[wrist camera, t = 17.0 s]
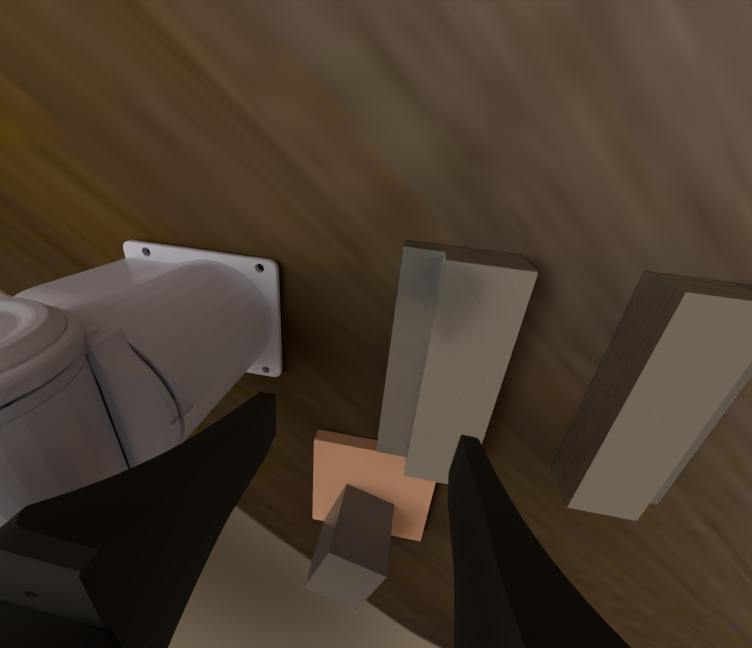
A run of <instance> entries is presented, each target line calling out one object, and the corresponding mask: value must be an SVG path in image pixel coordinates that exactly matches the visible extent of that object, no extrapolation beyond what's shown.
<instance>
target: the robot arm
mask: <svg viewBox="0 0 752 648" xmlns="http://www.w3.org/2000/svg"><path fill="white" fill-rule="evenodd" d="M147 248H148V249H149V251H150V254H149V253H148V251H147ZM123 249H124V253H125V257H126V258H125V259H122V260H119V261H116V262H113V263H109V264H106V265H103V266H100V267H97V268H93V269H90V270H87V271H84V272H81V273H77V274H74V275H71V276H68V277H64V278H61V279H58V280H55V281H52V282H48V283H45V284H42V285H39V286H36V287H32V288H30V289H27V290H25V291H23V292H21V293H19V294H17V295H15V296H14V297H0V648H168V646H169V644H170V641H171V639H172V637H173V634H174V632H175V629H176V627H177V625H178V623H179V620H180V618H181V616H182V614H183V611H184V609H185V607H186V605H187V602H188V600H189V598H190V596H191V594H192V591H193V589H194V587H195V585H196V583H197V580H198V578H199V576H200V574H201V572H202V570H203V568H204V566H205V564H206V561H207V559H208V557H209V555H210V553H211V551H212V549H213V547H214V545H215V543H216V541H217V539H218V537H219V535H220V533H221V531H222V529H223V527H224V525H225V523H226V521H227V519H228V518H229V516H230V514H231V512H232V511H233V509H234V507H235V506H236V504H237V503H238V501H239V499H240V498H241V496H242V494H243V493H244V491H245V490H246V488H247V486H248V485H249V483H250V481H251V480H252V478H253V477H254V475H255V473H256V472H257V470H258V468H259V467H260V465H261V463H262V462H263V460H264V458H265V456H266V454H267V452H268V450H269V448H270V446H271V443H272V441H273V439H274V437H275V434H276V395H275V394H270V393H265V392H259V393H258V394H256V395H255V396H253V397H252V398H250V399H249V400H248V401H246V402H245V403H243V404H242V405H240V406H239V407H238V408H236V409H235V410H233V411H232V412H230V413H229V414H227V415H226V416H224V417H223V418H221V419H220V420H218V421H217V422H215V423H214V424H212V425H211V426H209V427H208V428H206V429H204V430H203V431H201V432H199V433H198V434H196V435H195V436H193V437H191V438H190V439H188V440H186V439H187V438H188V436H189V435H190V434H191V433H192V432H193V431H194V430H195V429H196V427H197V426H198V425H199V424H200V423H201V422H202V421H203V420H204V418H205V417H206V416H207V415H208V414H209V413H210V412H211V410H212V409H213V408H214V407H215V406H216V405H217V404H218V403H219V401H220V400H221V399H222V398H223V397H224V396H225V395H226V394H227V392H228V391H229V390H230V389H231V388H232V387H233V386H234V385H235V383H236V382H237V381H238V380H239V379H240V378H241V377H242V375H243V374H244V373H245V372H248V373H254V374H260V375H266V376H271V377H277V376H279V375H280V374H281V372H282V343H281V315H280V287H279V267H278V265H277V263H276V262H275V261H274V260H271V259H265V258H258V257H251V256H244V255H236V254H229V253H222V252H215V251H208V250H201V249H194V248H187V247H180V246H172V245H165V244H158V243H151V242H144V241H137V240H129V241H126V242H125V243H124V244H123ZM258 264H261V265H262V266H263V267H264V271H262V270H260V269H259V266H258ZM265 367H268V368H269V370H268V369H266V368H265ZM185 440H186V441H185ZM184 441H185V442H184ZM448 509H449V520H450V532H451V543H452V554H453V565H454V601H455V619H454V648H631V647H630V646H629V645H628V644H627V643H626V642H625V641H624V640H623V639H622V638H621V637H620V636H619V635H618V634H617V633H616V632H615V631H614V630H613V629H612V628H611V627H610V626H609V625H608V624H607V623H606V622H605V621H604V620H603V618H602V617H601V616H600V615H599V614H598V613H597V612H596V611H595V610H594V609H593V608H592V606H591V605H590V604H589V603H588V602H587V601H586V600H585V599H584V598H583V596H582V595H581V594H580V593H579V592H578V591H577V589H576V588H575V587H574V586H573V585H572V583H571V582H570V581H569V580H568V579H567V577H566V576H565V575H564V574H563V573H562V571H561V570H560V569H559V568H558V567H557V565H556V564H555V563H554V562H553V560H552V559H551V558H550V556H549V555H548V554H547V552H546V551H545V550H544V548H543V547H542V546H541V544H540V543H539V542H538V540H537V539H536V537H535V536H534V535H533V533H532V532H531V530H530V529H529V527H528V526H527V524H526V523H525V521H524V520H523V518H522V517H521V515H520V513H519V512H518V510H517V509H516V507H515V505H514V504H513V502H512V500H511V499H510V497H509V495H508V494H507V492H506V490H505V488H504V487H503V485H502V483H501V481H500V480H499V478H498V476H497V474H496V472H495V470H494V468H493V466H492V465H491V463H490V461H489V459H488V457H487V455H486V453H485V451H484V448H483V446H482V444H481V442H480V440H479V439H478V438H476V437H472V436H467V435H462V434H461V436H460V439H459V442H458V445H457V448H456V451H455V454H454V457H453V460H452V463H451V466H450V469H449V472H448Z"/></svg>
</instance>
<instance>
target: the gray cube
mask: <svg viewBox="0 0 752 648" xmlns="http://www.w3.org/2000/svg"><path fill="white" fill-rule="evenodd" d="M393 512H394V504H392V503H390V502H388V501H385V500H383V499H381V498H378V497H376V496H374V495H372V494H369V493H367V492H365V491H362V490H360V489H358V488H356V487H353V486H351V485H349V484H346V486H345V487H344V489H343V490H342V492H341V494H340V495H339V497H338V498H337V500H336V501H335V503H334V505H333V506H332V508H331V509H330V511H329V513H328V514H327V516H326V517H325V519H324V523H323V526H322V529H321V533H320V536H319V539H318V543H317V546H316V550H315V553H314V556H313V560H312V563H311V567H310V570H309V573H308V576H307V580H306V583H305V586H304V588H306V589H309V590H311V591H313V592H316V593H318V594H320V595H323V596H325V597H328V598H330V599H333V600H335V601H337V602H340V603H342V604H345V605H347V606H350V607H352V608H354V609H357V608H358V607H359V606H360V605H361V604H362V603H363V602H364V601H365V600H366V599H367V598H368V597H369V596H370V594H371V593H372V592H373V591H374V590H375V589H376V588H377V587H378V586H379V585H380V584H381V583H382V582H383V580H384V579H385V578H386V577H387V568H388V559H389V549H390V540H391V531H392V521H393Z"/></svg>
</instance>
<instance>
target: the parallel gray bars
mask: <svg viewBox="0 0 752 648" xmlns="http://www.w3.org/2000/svg"><path fill="white" fill-rule="evenodd" d="M537 275H538V272H537V271H536V270H535V269H534V268H533V266H532V265H531V264H530V263H529V262H528V261H527V260H526V259H525V258H524V257H523V256H522V255H515V254H508V253H500V252H492V251H485V250H477V249H469V248H462V247H454V246H446V245H439V244H431V243H423V242H416V241H408V240H406V241H405V244H404V247H403V255H402V262H401V270H400V277H399V285H398V292H397V299H396V307H395V314H394V322H393V329H392V336H391V344H390V351H389V359H388V366H387V374H386V381H385V388H384V396H383V403H382V411H381V418H380V426H379V433H378V440H377V448H376V452H381V453H387V454H392V455H397V456H402V457H405V466H404V476H408V477H413V478H418V479H423V480H428V481H434V482H439V483H444V484H448V472H449V469H450V466H451V463H452V460H453V457H454V454H455V451H456V448H457V445H458V442H459V439H460V436H461V434H462V435H467V436H472V437H476V438H478V439H479V440H480V442H481V444H482V442H483V439H484V436H485V433H486V430H487V427H488V424H489V421H490V418H491V415H492V412H493V409H494V406H495V403H496V399H497V396H498V393H499V390H500V387H501V384H502V381H503V378H504V375H505V372H506V369H507V366H508V363H509V360H510V357H511V354H512V351H513V348H514V345H515V342H516V339H517V336H518V333H519V330H520V327H521V323H522V320H523V317H524V314H525V311H526V308H527V305H528V302H529V299H530V296H531V293H532V290H533V287H534V284H535V281H536V278H537ZM751 376H752V285H746V284H738V283H730V282H723V281H715V280H707V279H700V278H692V277H684V276H677V275H669V274H661V273H654V272H646V271H645V272H644V274H643V276H642V278H641V280H640V282H639V284H638V287H637V289H636V291H635V293H634V295H633V297H632V299H631V301H630V303H629V305H628V308H627V310H626V312H625V314H624V316H623V318H622V320H621V322H620V324H619V326H618V328H617V331H616V333H615V335H614V337H613V339H612V341H611V343H610V345H609V347H608V349H607V351H606V354H605V356H604V358H603V360H602V362H601V364H600V366H599V368H598V370H597V372H596V374H595V377H594V379H593V381H592V383H591V385H590V387H589V389H588V391H587V393H586V395H585V398H584V400H583V402H582V404H581V406H580V408H579V410H578V412H577V414H576V416H575V418H574V421H573V423H572V425H571V427H570V429H569V431H568V433H567V435H566V437H565V439H564V441H563V444H562V446H561V448H560V450H559V452H558V454H557V456H556V458H555V460H554V462H553V464H552V467H551V468H552V470H553V473H554V475H555V478H556V480H557V483H558V485H559V488H560V490H561V493H562V496H563V498H564V501H565V503H566V506H567V507H568V508H573V509H578V510H583V511H588V512H593V513H598V514H604V515H609V516H614V517H619V518H624V519H629V520H635V521H637V520H638V519H639V517H640V516H641V514H642V513H643V512H644V510H645V509H646V507H647V506H648V505H649V503H651V504H658V503H659V501H660V500H661V499H662V497H663V496H664V495H665V493H666V492H667V490H668V489H669V488H670V486H671V485H672V484H673V482H674V481H675V480H676V478H677V477H678V476H679V474H680V473H681V471H682V470H683V469H684V467H685V466H686V465H687V463H688V462H689V461H690V459H691V458H692V457H693V455H694V454H695V452H696V451H697V450H698V448H699V447H700V446H701V444H702V443H703V442H704V440H705V439H706V437H707V436H708V435H709V433H710V432H711V431H712V429H713V428H714V427H715V425H716V424H717V423H718V421H719V420H720V418H721V417H722V416H723V414H724V413H725V412H726V410H727V409H728V408H729V406H730V405H731V404H732V402H733V401H734V399H735V398H736V397H737V395H738V394H739V393H740V391H741V390H742V389H743V387H744V386H745V384H746V383H747V382H748V380H749V379H750V378H751Z"/></svg>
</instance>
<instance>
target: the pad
mask: <svg viewBox="0 0 752 648" xmlns="http://www.w3.org/2000/svg"><path fill="white" fill-rule="evenodd" d="M376 448H377V440H373V439H368V438H362V437H357V436H352V435H346V434H341V433H336V432H330V431H325V430H319V429H318V431H317V434H316V436H315V438H314V469H313V519H316V520H321V521H324V519H325V517H326V516H327V514H328V513H329V511H330V509H331V508H332V506H333V505H334V503H335V501H336V500H337V498H338V497H339V495H340V494H341V492H342V490H343V489H344V487H345V486H346V484H349V485H351V486H353V487H356V488H358V489H360V490H362V491H365V492H367V493H369V494H372V495H374V496H376V497H378V498H381V499H383V500H385V501H388V502H390V503H392V504H394V512H393V521H392V531H391V535H392V536H397V537H402V538H407V539H411V540H416V541H421V537H422V533H423V530H424V526H425V522H426V518H427V514H428V510H429V507H430V503H431V499H432V495H433V491H434V488H435V484H436V482H434V481H428V480H423V479H418V478H413V477H408V476H404V466H405V457H402V456H397V455H392V454H387V453H381V452H376Z"/></svg>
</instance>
